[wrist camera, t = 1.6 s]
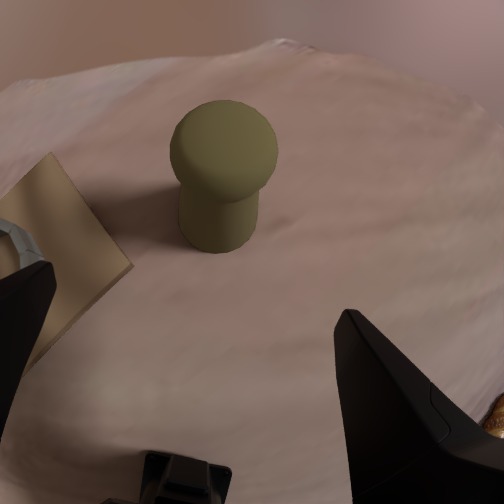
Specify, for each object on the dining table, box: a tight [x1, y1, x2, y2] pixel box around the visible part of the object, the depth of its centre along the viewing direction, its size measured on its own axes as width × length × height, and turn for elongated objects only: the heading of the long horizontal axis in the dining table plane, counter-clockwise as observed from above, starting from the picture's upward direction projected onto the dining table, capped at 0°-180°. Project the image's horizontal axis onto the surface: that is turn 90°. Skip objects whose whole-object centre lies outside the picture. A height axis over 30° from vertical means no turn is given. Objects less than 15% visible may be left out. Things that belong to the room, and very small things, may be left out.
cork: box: [170, 100, 278, 254], centre depth 18 cm, size 6×6×11 cm
